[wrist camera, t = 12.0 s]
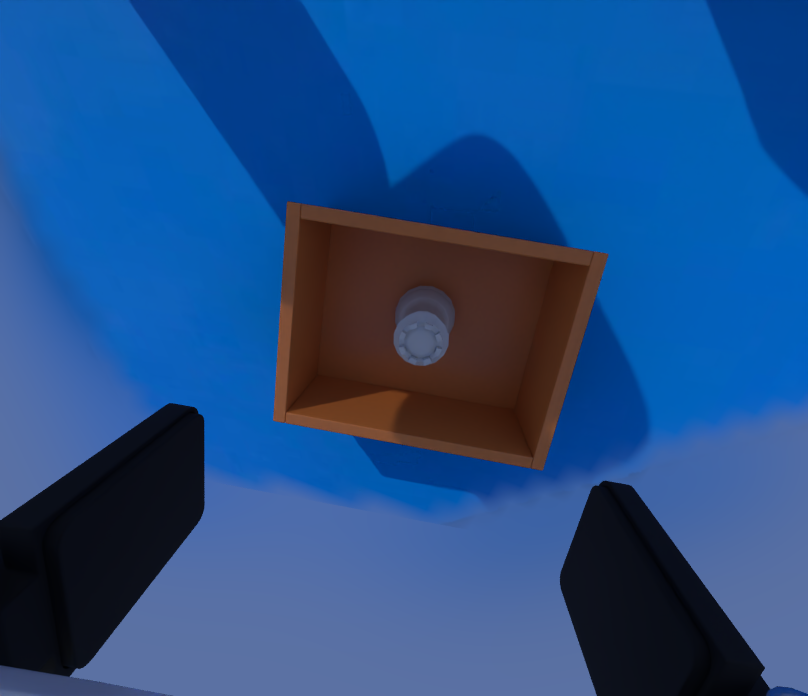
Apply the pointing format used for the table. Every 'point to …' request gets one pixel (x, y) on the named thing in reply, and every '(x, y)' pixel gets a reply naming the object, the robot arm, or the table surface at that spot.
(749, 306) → the table surface
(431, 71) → the table surface
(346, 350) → the bin
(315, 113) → the table surface
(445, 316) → the rook chess piece
